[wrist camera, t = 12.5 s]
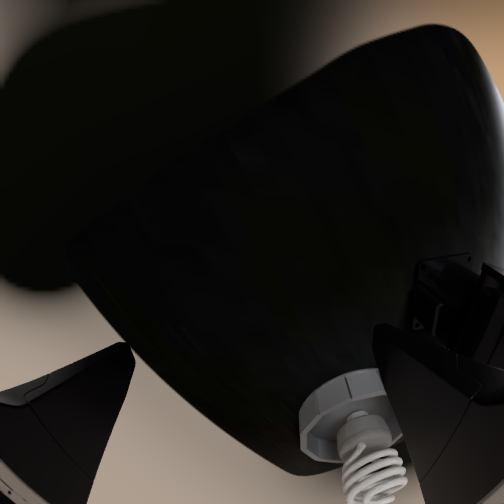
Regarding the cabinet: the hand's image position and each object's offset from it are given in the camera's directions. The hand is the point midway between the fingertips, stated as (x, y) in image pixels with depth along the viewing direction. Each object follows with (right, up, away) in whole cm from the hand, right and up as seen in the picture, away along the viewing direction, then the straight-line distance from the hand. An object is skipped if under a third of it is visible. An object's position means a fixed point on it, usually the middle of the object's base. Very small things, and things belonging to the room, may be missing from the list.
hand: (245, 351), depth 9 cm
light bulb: (+11, -14, +15) cm, 23 cm away
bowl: (+11, -13, +15) cm, 23 cm away
